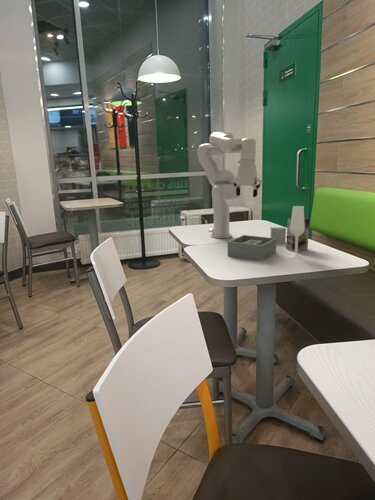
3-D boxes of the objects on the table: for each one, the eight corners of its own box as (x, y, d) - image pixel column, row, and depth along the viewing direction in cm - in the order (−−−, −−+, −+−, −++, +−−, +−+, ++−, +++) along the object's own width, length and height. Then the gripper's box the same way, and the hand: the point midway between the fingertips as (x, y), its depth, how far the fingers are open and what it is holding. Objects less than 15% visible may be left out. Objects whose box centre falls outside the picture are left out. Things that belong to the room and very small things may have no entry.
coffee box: (292, 251, 179) (293, 220, 175) (285, 248, 185) (287, 218, 181) (308, 249, 182) (310, 218, 178) (301, 247, 188) (302, 217, 184)
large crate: (227, 256, 174) (227, 241, 172) (243, 248, 189) (243, 235, 187) (261, 260, 164) (262, 245, 163) (276, 252, 179) (276, 238, 177)
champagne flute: (304, 255, 171) (307, 206, 165) (301, 259, 166) (304, 207, 160) (290, 254, 175) (292, 205, 169) (286, 257, 169) (289, 207, 163)
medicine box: (284, 241, 201) (284, 226, 199) (285, 243, 197) (286, 228, 195) (270, 241, 202) (270, 226, 200) (271, 243, 198) (271, 228, 195)
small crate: (242, 253, 174) (242, 243, 173) (250, 248, 182) (250, 239, 181) (253, 254, 171) (253, 244, 169) (261, 250, 179) (261, 240, 177)
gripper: (229, 163, 186) (228, 195, 191) (260, 163, 176) (258, 198, 181) (236, 162, 192) (235, 194, 197) (266, 163, 182) (264, 196, 187)
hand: (246, 196), depth 189 cm, fingers open, 9 cm apart
